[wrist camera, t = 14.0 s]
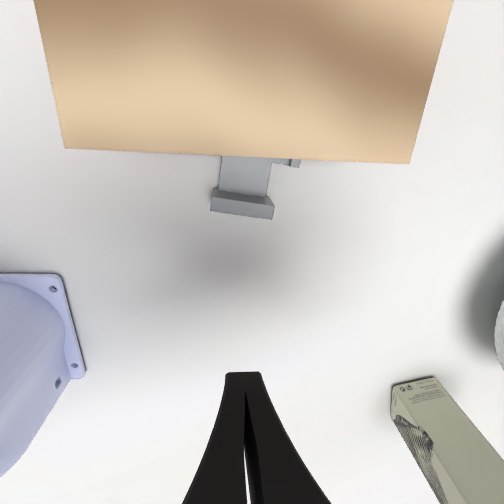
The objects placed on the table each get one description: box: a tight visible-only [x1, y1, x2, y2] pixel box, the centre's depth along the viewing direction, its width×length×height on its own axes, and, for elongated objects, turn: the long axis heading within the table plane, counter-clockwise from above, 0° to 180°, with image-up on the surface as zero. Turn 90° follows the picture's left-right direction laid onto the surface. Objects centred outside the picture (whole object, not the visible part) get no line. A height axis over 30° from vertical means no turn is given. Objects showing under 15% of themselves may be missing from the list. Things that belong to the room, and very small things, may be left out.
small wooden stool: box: [34, 0, 454, 164], centre depth 12 cm, size 8×13×7 cm, turn 87°
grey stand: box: [210, 156, 301, 220], centre depth 14 cm, size 10×6×5 cm, turn 170°
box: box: [391, 377, 504, 504], centre depth 22 cm, size 5×4×13 cm
